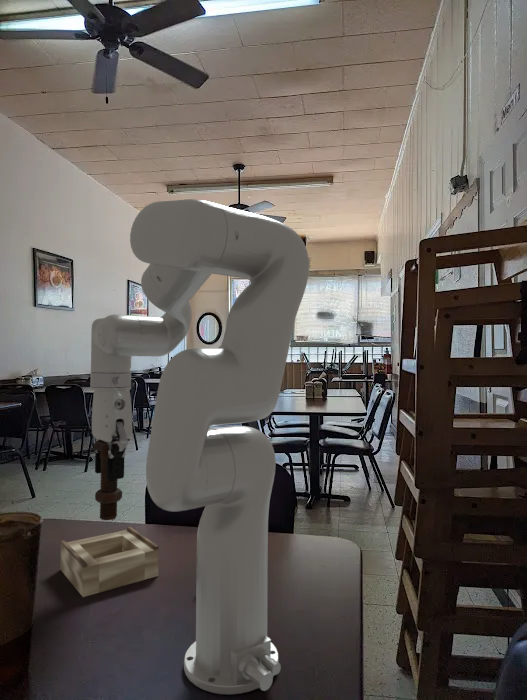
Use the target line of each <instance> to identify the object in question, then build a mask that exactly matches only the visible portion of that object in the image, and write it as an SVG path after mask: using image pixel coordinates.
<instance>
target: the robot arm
mask: <svg viewBox="0 0 527 700" xmlns="http://www.w3.org/2000/svg"><path fill="white" fill-rule="evenodd" d="M130 228H131V230H130V233H129V236H130V237H129V243H130V248H131V251H132V253H133V255H134V256H135V257H136V258H137V259H138V261H141V262H142V263H146V264H148V266H147V268H146V269H145V270H144V272H143V273H142V275H141V280H140V286H141V289H142V292H143V294H144V296H145V297H146V299H148V301H149V302H150V303H151V304H153V306H154V307H156V308H157V309H159V310H161V311H162V312H164V313H163V315H161V316H160V317H158V316H149V315H135V314H133V315H131V314H110V315H107V316H106V317H102V318H101V317H100V318H97V319H95V320H94V321H92V322H91V335H90V336H91V337H90V338H91V339H90V340H91V344H90V382H89V383H90V384H89V385H90V391H93V397H92V409H91V410H92V411H91V434H92V436H93V438H95V439H94V443H95V442H96V441H98V440H101V441H104V442H106V443H107V444H108V454H109V458H107V475H106V478H107V480H114V479H118V480H120V479H123V478H124V477H125V458H126V449H127V446H128V444H129V442H131V440H132V439H133V413H132V412H133V410H132V397H131V392H130V390H132V387H131V386H132V357H162V356H163V357H164V356H166V355H169V354H170V353H172V352H173V351H174V350H175V349H176V348H177V347H178V346H179V344H181V343H182V341H184V339H185V338H186V337H187V335H188V334H189V330H190V327H191V324H192V323H191V322H192V307H191V302H190V301H191V300H192V298H193V297H195V295H196V294H197V293H198V292H199V290H200V289H201V287H203V285H204V284H205V283H206V282H207V281H208V279H209V278H210V277H211V276H212V274H213V275H219V276H225V277H232V278H242V279H246V280H248V281H249V282H250V283H249V284H248V285H247V286H245V288H244V289H243V290H242V291H241V292H240V294H239V295H238V297H237V298H236V299H235V300H234V302H233V304H232V306H231V307H230V309H229V312H228V314H227V319H226V324H225V330H224V335H223V338H222V342H221V345H220V346H219V347H217V348H213V347H212V348H211V347H210V348H209V347H208V348H207V347H204V348H203V347H198V348H197V347H194V348H188V349H185V350H181V351H179V352H178V353H176V354H175V355H173V356H172V357H171V358H170V360H169V361H168V362H167V364H166V365H165V367H164V369H163V371H162V374H161V376H160V380H159V383H158V388H157V391H156V399H155V405H154V411H153V417H152V423H151V430H150V436H149V441H148V442H149V443H148V449H147V455H146V464H145V480H146V487H147V491H148V493H149V495H150V496H149V497H150V498H151V500H152V502H153V503H154V504H155V505H156V506H157V507H158V508H160V509H162V510H163V511H167V512H174V513H175V512H183V511H188V510H194V509H199V508H202V507H204V509H203V511H202V515H201V516H200V519H199V524H198V527H197V533H196V572H195V573H196V574H195V576H196V578H195V579H196V580H195V582H196V584H195V585H196V587H195V588H196V589H195V592H196V595H195V596H196V599H195V600H196V601H195V604H196V606H195V614H196V615H195V618H196V619H195V641H194V642H193V643H192V644H191V645H190V646H189V647H188V649H187V650H186V652H185V654H184V657H183V670H184V674H185V676H186V677H187V679H188V680H189V682H191V683H192V684H193V685H194V686H195V687H198V688H199V689H201V690H203V691H206V692H209V693H213V694H217V695H239V694H244V693H249V692H253V691H255V690H258V689H260V690H261V691H264V692H266V691H268V690H269V689H270V688H271V686H272V685H273V679H274V676H277V675H279V674H280V672H281V668H282V666H281V663H280V662H279V659H280V658H279V656H280V655H279V652H278V649H277V647H276V646H275V645H274V643H272V642H271V641H272V639H271V638H270V637H268V552H269V550H268V546H269V545H268V542H269V541H268V539H269V535H268V534H269V514H270V513H269V511H270V504H271V503H270V502H271V501H270V500H271V496H272V495H271V494H272V492H273V491H272V490H273V485H274V481H275V475H276V465H277V464H276V462H277V461H276V460H277V459H276V454H275V450H274V446H273V444H272V442H271V440H270V438H268V436H267V435H266V434H264V432H262V431H261V430H259V429H257V428H254V427H251V426H246V425H235V424H244V423H252V422H256V421H260V420H263V419H265V418H267V417H269V416H270V415H271V414H272V413H273V411H274V410H275V408H276V405H277V403H278V400H279V396H280V392H281V388H282V383H283V378H284V375H285V369H286V364H287V359H288V354H289V350H290V344H291V341H292V334H293V329H294V325H295V321H296V317H297V314H298V311H299V308H300V305H301V303H302V300H303V298H304V295H305V292H306V288H307V284H308V280H309V275H310V259H309V258H310V257H309V254H308V249H307V246H306V244H305V242H304V241H303V240H304V239H302V237H301V236H300V235H299V234H298V233H297V232H296V231H295V230H294V229H292V228H291V227H290V226H288V225H287V224H285V223H283V222H281V221H278V220H276V219H273V218H271V217H267V216H264V215H261V214H257V213H253V212H249V211H246V210H242V209H239V208H238V209H237V208H234V207H229V206H226V205H223V204H219V203H215V202H211V201H207V200H203V199H202V200H201V199H197V198H196V199H195V198H193V199H191V198H190V199H188V198H187V199H177V200H175V199H174V200H161V201H160V200H159V201H154V202H151V203H148V205H145V207H143V208H142V209H141V210H140V211H139V212H138V214H137V215H136V217H134V220H133V222H132V225H131V227H130ZM223 425H224V426H223ZM225 425H229V426H225ZM217 426H218V427H217ZM219 426H221V427H219ZM211 427H212V428H211ZM113 439H118V441H112V440H113ZM113 445H116V446H115V447H114V450H113ZM94 451H95V453H94V472H95V474H101V458H100V451H98V450H94Z"/></svg>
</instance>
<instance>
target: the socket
mask: <svg viewBox="0 0 527 700" xmlns="http://www.w3.org/2000/svg"><path fill="white" fill-rule="evenodd" d="M159 553H160V551H159V545H158V544H156V543H155V542H154V541H152V540H150V539H149V538H148V537H146V536H145V535H143V534H142V533H140V532H139V531H138V530H136V529H135V528H133V527H132V526H127V527H126V529H124V530H119V531H114V532H110V533H106V534H101V535H96V536H91V537H87V538H82V539H77V540H76V539H75V540H72V541H68V542H67V541H66V540H64V539H63V540H60V571H61V572H62V573H63V575H64V576H65V577H66V578H67V580H68V581H69V582H70V584H72V586H73V587H74V588H75V589H76V591H77V592H78V593H79V594H80V595H81V597H82V598H85V597H89V596H92V595H95V594H99V593H103V592H106V591H110V590H114V589H117V588H120V587H121V588H122V587H123V586H124V587H125V586H128V585H130V584H134V583H139V582H142V581H145V580H148V579H152V578H155V577H159V560H160V559H159V557H160V556H159V555H160V554H159Z"/></svg>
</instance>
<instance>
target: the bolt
mask: <svg viewBox="0 0 527 700" xmlns="http://www.w3.org/2000/svg"><path fill="white" fill-rule="evenodd" d="M112 441H118V438H117V439H113V440H112ZM115 446H116V445H113V450H114V447H115ZM93 450H94V451H95V450H98V451H100V458H101V473H100V477H99V478H100V484H99V485H100V488H99V489H98V490H97V491H96V492H95V494H94V500H95V501H96V502H97V503H99V504H100V505H99V519H101V520H102V521H113V520H115V519H116V517H118V510H117V509H118V502H120V501H121V499H122V498H123V491H122V489H120V488H119V487H118V480H119V479H114V480H107V478H106V475H107V458H109V454H108V444H107V443H106V442H104V441H101V440H98V441H96V442H95V441H94V443H93Z"/></svg>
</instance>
